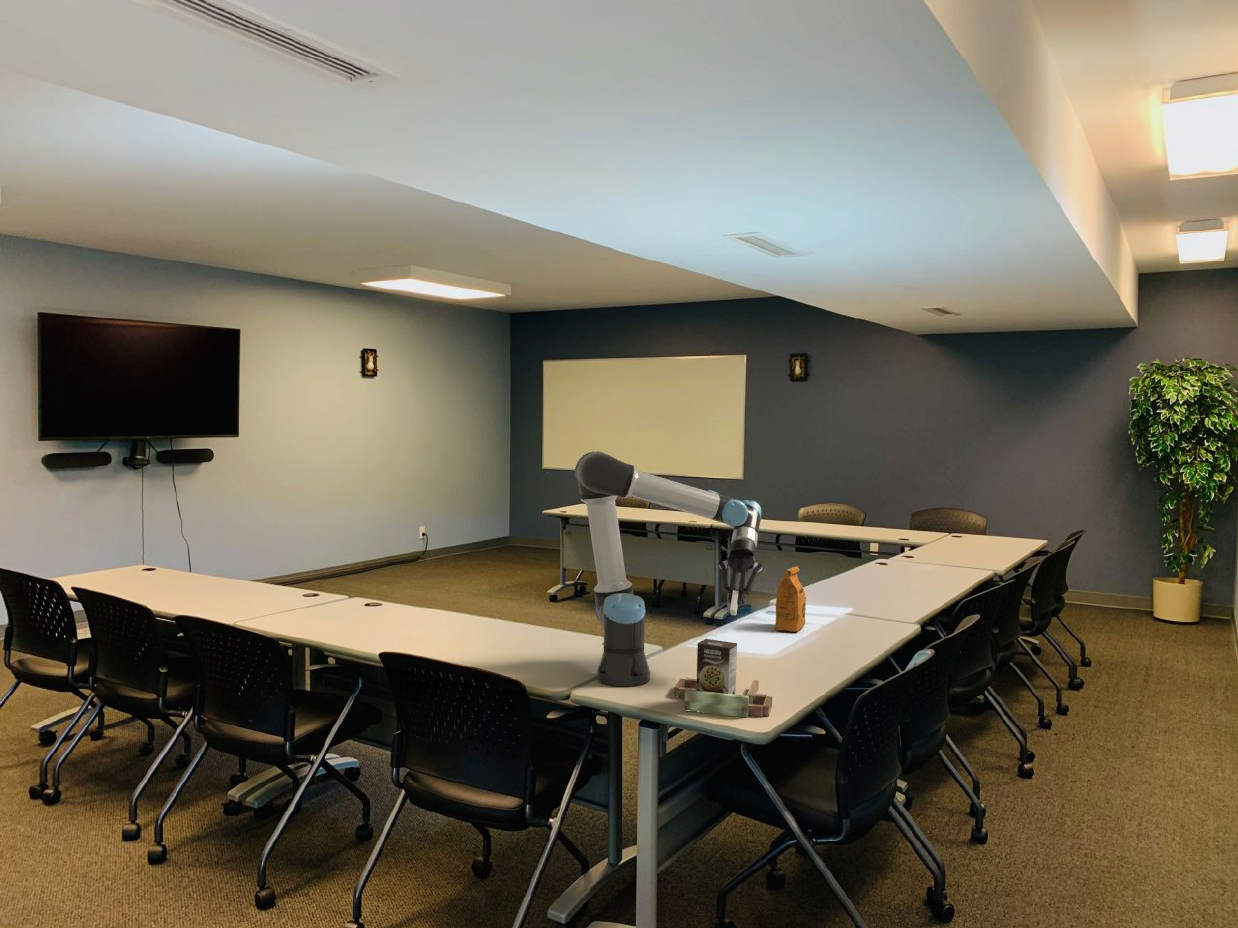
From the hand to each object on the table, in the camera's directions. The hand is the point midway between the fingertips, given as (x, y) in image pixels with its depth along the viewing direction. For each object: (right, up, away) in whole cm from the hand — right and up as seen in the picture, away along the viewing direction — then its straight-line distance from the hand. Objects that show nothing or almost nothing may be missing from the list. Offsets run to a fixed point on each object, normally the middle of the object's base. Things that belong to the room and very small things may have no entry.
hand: (733, 612), depth 243 cm
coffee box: (-7, -21, -16) cm, 28 cm away
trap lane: (-4, -21, -14) cm, 25 cm away
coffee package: (+29, -17, +65) cm, 73 cm away
